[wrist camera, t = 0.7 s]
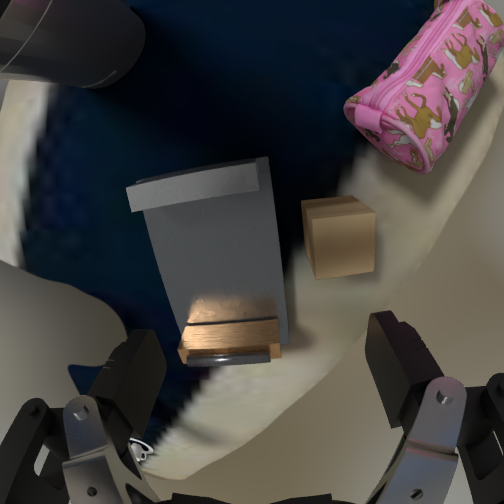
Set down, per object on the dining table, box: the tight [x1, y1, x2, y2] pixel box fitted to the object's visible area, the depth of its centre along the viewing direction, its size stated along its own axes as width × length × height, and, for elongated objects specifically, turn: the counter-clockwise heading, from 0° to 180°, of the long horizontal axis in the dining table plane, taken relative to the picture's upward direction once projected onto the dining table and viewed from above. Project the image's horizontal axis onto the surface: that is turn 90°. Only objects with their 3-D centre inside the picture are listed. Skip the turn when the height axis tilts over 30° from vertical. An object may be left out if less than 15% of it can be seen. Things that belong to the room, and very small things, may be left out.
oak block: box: [301, 196, 376, 280], centre depth 23 cm, size 5×5×6 cm
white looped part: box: [129, 438, 154, 461], centre depth 46 cm, size 9×8×4 cm
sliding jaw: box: [178, 319, 281, 367], centre depth 27 cm, size 2×10×5 cm, turn 98°
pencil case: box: [344, 0, 504, 174], centre depth 15 cm, size 21×9×9 cm, turn 145°
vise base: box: [126, 156, 290, 345], centre depth 25 cm, size 20×12×6 cm, turn 8°
